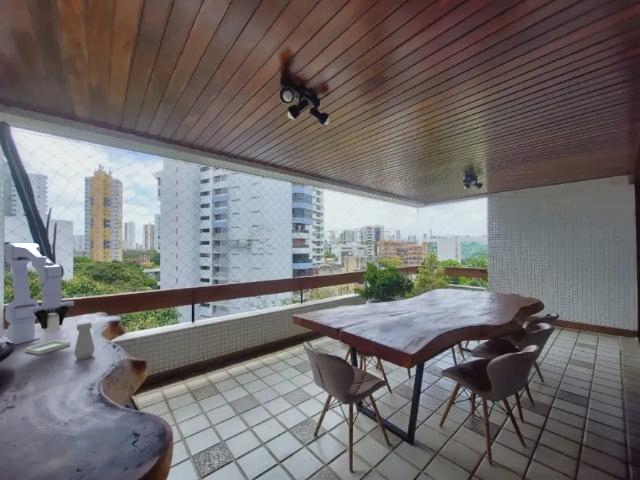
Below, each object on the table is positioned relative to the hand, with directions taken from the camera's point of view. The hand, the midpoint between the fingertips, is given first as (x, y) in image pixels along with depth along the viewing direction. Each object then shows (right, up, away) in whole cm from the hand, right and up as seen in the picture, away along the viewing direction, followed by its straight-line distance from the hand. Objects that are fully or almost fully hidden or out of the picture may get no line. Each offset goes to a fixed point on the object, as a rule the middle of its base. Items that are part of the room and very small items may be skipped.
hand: (52, 326), depth 115 cm
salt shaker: (+24, -8, -12) cm, 28 cm away
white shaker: (0, -2, 0) cm, 2 cm away
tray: (0, -9, -1) cm, 9 cm away
